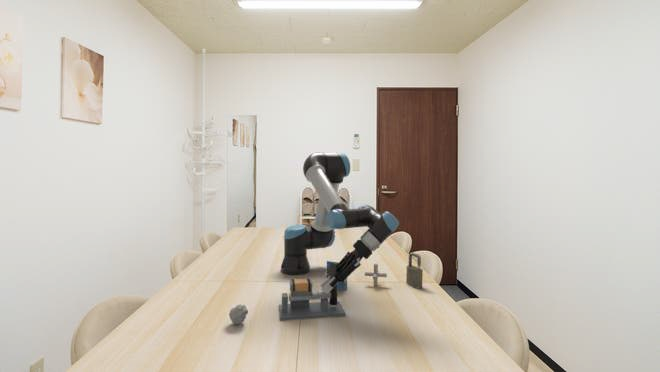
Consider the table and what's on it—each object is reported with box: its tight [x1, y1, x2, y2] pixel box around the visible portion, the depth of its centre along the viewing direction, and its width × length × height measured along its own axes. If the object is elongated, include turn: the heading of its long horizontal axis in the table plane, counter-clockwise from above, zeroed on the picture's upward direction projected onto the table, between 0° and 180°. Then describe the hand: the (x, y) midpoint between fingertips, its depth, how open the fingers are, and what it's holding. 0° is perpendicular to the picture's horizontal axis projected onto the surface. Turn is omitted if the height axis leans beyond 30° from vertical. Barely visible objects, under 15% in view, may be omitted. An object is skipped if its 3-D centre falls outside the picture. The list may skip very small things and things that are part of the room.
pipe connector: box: [364, 263, 388, 287], centre depth 165 cm, size 10×10×10 cm
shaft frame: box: [278, 276, 347, 321], centre depth 135 cm, size 24×12×12 cm, turn 100°
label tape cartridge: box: [326, 260, 348, 291], centre depth 161 cm, size 9×4×12 cm, turn 65°
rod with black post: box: [288, 263, 339, 305], centre depth 135 cm, size 18×3×16 cm, turn 100°
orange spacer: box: [294, 279, 308, 292], centre depth 134 cm, size 5×5×5 cm
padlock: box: [405, 252, 424, 289], centre depth 165 cm, size 4×8×15 cm, turn 28°
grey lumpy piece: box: [228, 304, 249, 326], centre depth 124 cm, size 6×7×7 cm
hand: (323, 289), depth 136 cm, fingers closed on rod with black post, 3 cm apart
